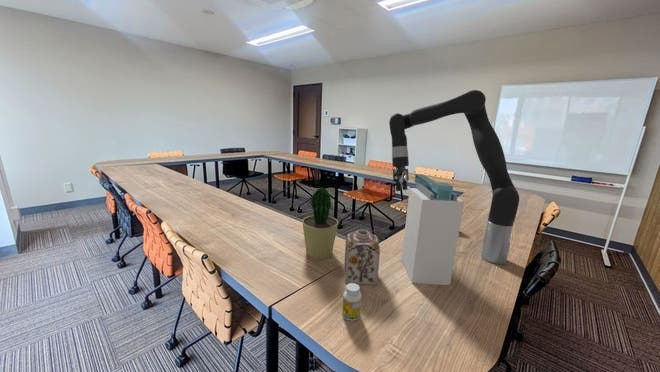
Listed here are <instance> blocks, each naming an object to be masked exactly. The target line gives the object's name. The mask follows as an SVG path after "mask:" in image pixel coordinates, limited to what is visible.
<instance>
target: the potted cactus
mask: <svg viewBox="0 0 660 372" xmlns="http://www.w3.org/2000/svg"><path fill="white" fill-rule="evenodd" d="M311 195H312V196H309V197H310V204H311V205H310V206H311V208H310V209H311V211H312V212H313V213H312V215H309V216H306V217H304V218H302V221H301V222H302V229H303V237H304V238H303V239H304V244H305V253H306V255H307V256H308V257H309V258H311V259H316V260H325V259H328V258H330V257H331V256H332V253H333V250H334V246H335V245H334V244H335V240H336V236H337V231H338V226H339V225H338V224H339V220H338V219H336V218H335V217H334V216H333V217H332V216H329V215H330V210H333V208H332V198H331V196H332V193H330V192H328V189H327V188H324V187H319V188H318V189H316V191H315V192H313V191H312V194H311Z"/></svg>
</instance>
